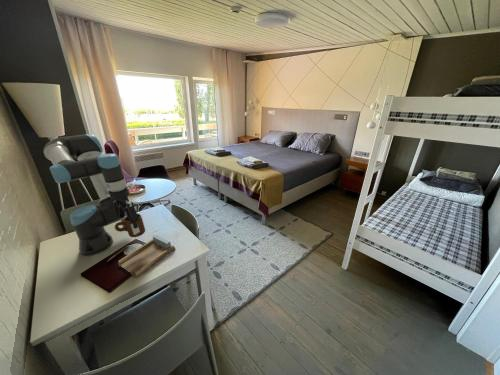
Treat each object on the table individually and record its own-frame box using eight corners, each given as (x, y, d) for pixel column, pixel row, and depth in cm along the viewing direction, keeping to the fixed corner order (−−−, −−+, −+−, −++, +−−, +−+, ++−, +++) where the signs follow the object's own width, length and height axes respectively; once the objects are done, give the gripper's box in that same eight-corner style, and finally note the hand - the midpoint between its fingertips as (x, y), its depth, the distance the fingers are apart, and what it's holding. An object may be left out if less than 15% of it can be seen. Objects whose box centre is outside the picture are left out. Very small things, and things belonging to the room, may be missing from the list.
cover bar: (154, 242, 114) (152, 236, 112) (157, 240, 115) (155, 234, 113) (168, 249, 108) (166, 243, 106) (171, 247, 109) (170, 241, 108)
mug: (120, 244, 97) (114, 227, 93) (117, 236, 102) (111, 220, 98) (147, 233, 104) (142, 217, 100) (143, 227, 109) (138, 211, 105)
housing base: (118, 265, 100) (116, 261, 99) (157, 240, 117) (156, 236, 116) (136, 278, 93) (134, 274, 92) (175, 249, 110) (174, 245, 109)
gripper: (97, 188, 94) (112, 229, 103) (122, 196, 84) (137, 241, 93) (113, 182, 100) (127, 222, 109) (139, 189, 90) (151, 232, 99)
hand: (131, 230), depth 101 cm, fingers closed on mug, 7 cm apart
